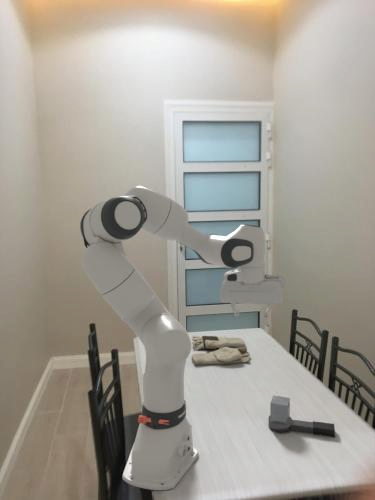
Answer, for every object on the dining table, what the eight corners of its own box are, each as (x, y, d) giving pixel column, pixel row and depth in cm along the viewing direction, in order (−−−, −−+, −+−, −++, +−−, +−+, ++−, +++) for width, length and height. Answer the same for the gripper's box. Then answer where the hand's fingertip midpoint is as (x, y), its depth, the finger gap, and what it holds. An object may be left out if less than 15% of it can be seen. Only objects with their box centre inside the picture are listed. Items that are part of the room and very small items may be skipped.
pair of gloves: (191, 342, 199) (191, 332, 198) (243, 341, 198) (243, 331, 198) (191, 367, 169) (191, 355, 168) (252, 366, 169) (252, 354, 168)
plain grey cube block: (287, 424, 119) (287, 405, 119) (270, 421, 121) (270, 402, 120) (289, 416, 124) (289, 397, 123) (273, 413, 126) (273, 395, 125)
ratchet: (335, 440, 115) (335, 422, 114) (267, 431, 120) (267, 413, 120) (333, 427, 122) (333, 409, 121) (269, 419, 127) (269, 402, 126)
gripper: (283, 273, 131) (283, 314, 132) (220, 272, 135) (221, 312, 136) (284, 276, 125) (284, 320, 126) (218, 276, 129) (219, 318, 130)
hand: (251, 316), depth 131 cm, fingers open, 8 cm apart
